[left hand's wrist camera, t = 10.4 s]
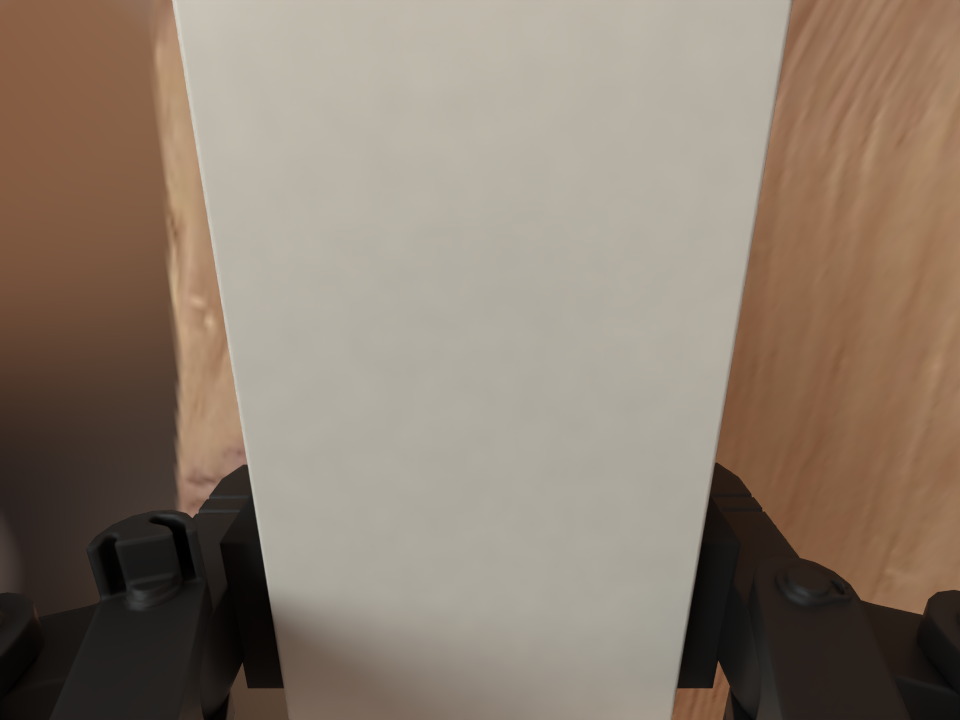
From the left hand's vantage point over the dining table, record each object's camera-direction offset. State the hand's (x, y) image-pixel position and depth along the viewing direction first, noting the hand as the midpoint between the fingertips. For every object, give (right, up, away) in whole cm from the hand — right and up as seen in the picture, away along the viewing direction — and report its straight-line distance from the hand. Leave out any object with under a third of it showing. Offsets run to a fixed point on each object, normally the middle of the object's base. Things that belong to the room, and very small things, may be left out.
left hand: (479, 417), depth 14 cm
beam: (0, -28, +11) cm, 30 cm away
